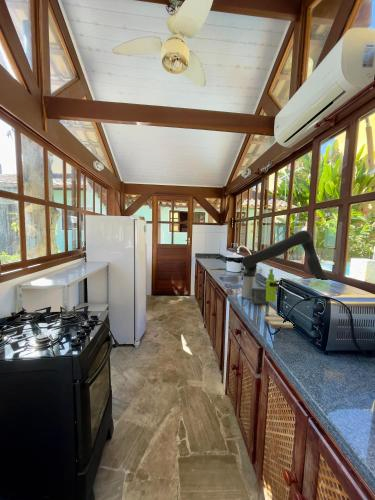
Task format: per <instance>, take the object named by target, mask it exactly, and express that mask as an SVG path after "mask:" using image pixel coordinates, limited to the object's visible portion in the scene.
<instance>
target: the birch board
mask: <svg viewBox="0 0 375 500" xmlns="http://www.w3.org/2000/svg"><path fill="white" fill-rule="evenodd" d="M263 320H264V321H265V322H266V323H267V324H268V325H269V327H271V328H272V329H294V328H293V327H294V326H293V324H294V323H293V322H292V321H291V322H292V323H293V324H292V323H291V322H289V321H286V322H284V323H283V321H284V319H283V318H282V317H281V315H277V316H275V315H266V316H265V315H264V319H263ZM279 327H281V328H279Z"/></svg>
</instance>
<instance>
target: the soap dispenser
mask: <svg viewBox="0 0 375 500" xmlns="http://www.w3.org/2000/svg"><path fill="white" fill-rule="evenodd" d="M274 279H275V274H274V269H273V268H269V273H268V275H267V279H265V288H266V301H268V303H275V302H277V287H270V286H269V283H276V280H274Z"/></svg>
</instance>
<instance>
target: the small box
mask: <svg viewBox="0 0 375 500" xmlns="http://www.w3.org/2000/svg"><path fill="white" fill-rule="evenodd" d="M251 303H252V304H253V305H269V302H268V301H266V287H265V288H262V287H260V288H258V287H255V288H252V299H251Z"/></svg>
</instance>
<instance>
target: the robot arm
mask: <svg viewBox="0 0 375 500" xmlns="http://www.w3.org/2000/svg"><path fill="white" fill-rule="evenodd" d="M314 243H315V242H314V237H313V234H312V233H310V232H309V231H308V230H303V229H302V230H299V231H297V232H295V233H294V234H292V235H290V236H289V237H286V238H284V239H282V240H279V241H277V242H275V243H273V244H271V245H268V246H267V247H265V248H262V249H260V250H259V251H257V252H255V253H252V254H248V255H245V256H244V257H243V258H242V260H241V264H242V266H243V267H244V270H243V273H242V284H241V298H243V299H246V300H247V299H248V300H252V288H256V275H257V274H256V273H257V264H259V263H261V262H265V261H267V260H268V261H269V260H272V259H273V258H277V257H279V256H281V255H283V254H285V253H287V251H288V250H290V249H292V248H294V247H296V246H301V247H302V248H303V251H304V254H305V258H306V259H305V260H306V264H307V268H308V270H309V273H310V275H312V276H314V277H315V278H316V279H321V280H329V278H328V276H327V275H326V273H325V272H324V271H323V268H322V265H321V263H320V260H319V257H318V255H317V252H316V249H315V244H314ZM296 278H297V279H310V278H308V277H296ZM274 280H276V283H269V286H270V287H276V288H278V287H279V281H280V280H281V278H280V279H279V278H278V279H276V278H274ZM329 281H330V280H329Z"/></svg>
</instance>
